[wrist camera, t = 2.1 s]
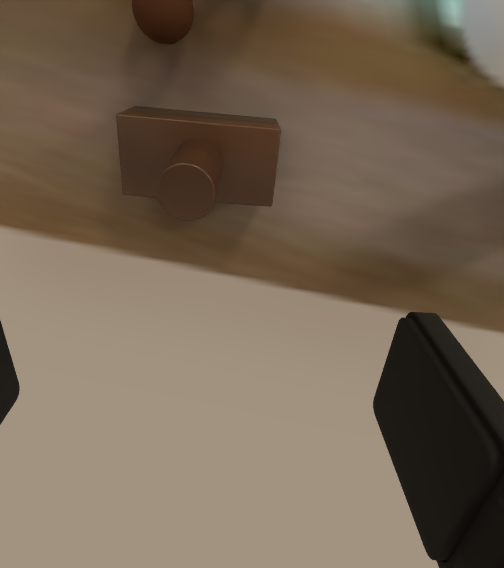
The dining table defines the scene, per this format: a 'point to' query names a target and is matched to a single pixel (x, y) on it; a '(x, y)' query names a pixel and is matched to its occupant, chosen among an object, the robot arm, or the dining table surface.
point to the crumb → (163, 18)
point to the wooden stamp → (197, 159)
